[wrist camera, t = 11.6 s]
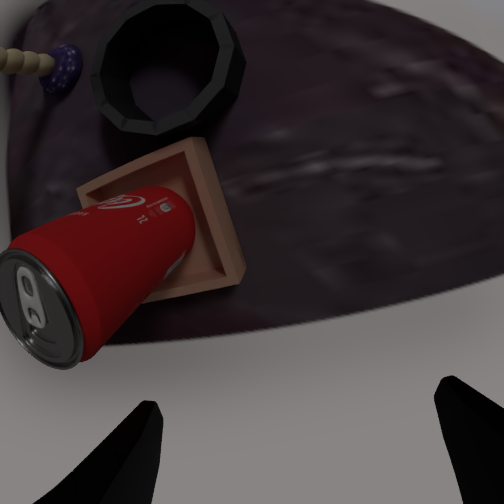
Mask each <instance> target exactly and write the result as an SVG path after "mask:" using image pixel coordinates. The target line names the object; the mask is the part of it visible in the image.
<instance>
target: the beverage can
mask: <svg viewBox="0 0 504 504" xmlns="http://www.w3.org/2000/svg"><path fill="white" fill-rule="evenodd" d="M195 234H196V227H195V218H194V214H193V211H192V209H191V207H190V206H189V204H188V203H187V201H186V200H185V199H184V198H183V197H182V196H180V195H179V194H177V193H176V192H174V191H172V190H171V189H168V188H166V187H162V186H147V187H143V188H140V189H137V190H134V191H131V192H128V193H125V194H123V195H120V196H117V197H114V198H111V199H108V200H106V201H103V202H100V203H98V204H95V205H92V206H90V207H87V208H84V209H82V210H79V211H77V212H74V213H72V214H69V215H67V216H64V217H62V218H59V219H57V220H54V221H52V222H49V223H47V224H45V225H42V226H40V227H38V228H35V229H33V230H31V231H29V232H26V233H24V234H22V235H20V236H18V237H17V238H15V239H14V240H13V241H12V242H11V244H10V245H9V247H8V248H7V250H5V251H3V252H2V253H1V254H0V312H1V315H2V317H3V319H4V321H5V323H6V325H7V326H8V328H9V330H10V331H11V333H12V334H13V335H14V337H15V338H16V340H17V341H18V342H19V343H20V344H21V345H22V347H23V348H24V349H25V350H26V351H27V352H28V353H30V354H31V355H32V356H33V357H34V358H36V359H37V360H38V361H40V362H42V363H43V364H45V365H47V366H49V367H52V368H55V369H60V370H66V369H70V368H73V367H74V366H76V365H77V364H78V363H79V362H83V361H86V360H88V359H90V358H92V357H93V356H94V355H95V354H96V353H97V352H98V350H99V349H100V348H101V347H102V346H103V345H104V344H105V343H106V342H107V341H108V339H109V338H110V337H111V336H112V335H113V334H114V333H115V332H116V331H117V329H118V328H119V327H120V326H121V325H122V324H123V323H124V322H125V321H126V320H127V319H128V317H129V316H130V315H131V314H132V313H133V312H134V311H135V310H136V309H137V308H138V307H139V306H140V304H141V303H142V302H143V301H144V300H145V299H146V298H147V297H148V296H149V295H150V294H151V293H152V292H153V291H154V290H155V288H156V287H157V286H158V285H159V284H160V283H161V282H162V281H163V280H164V279H165V278H166V277H167V276H168V275H169V274H170V273H171V272H172V271H173V270H174V269H175V268H176V266H177V265H178V264H179V263H180V262H181V261H182V260H183V259H184V258H185V257H186V256H187V255H188V254H189V252H190V251H191V249H192V247H193V244H194V240H195Z"/></svg>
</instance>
